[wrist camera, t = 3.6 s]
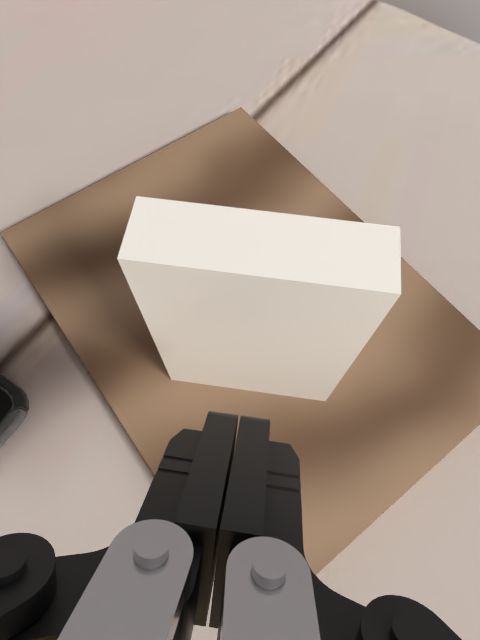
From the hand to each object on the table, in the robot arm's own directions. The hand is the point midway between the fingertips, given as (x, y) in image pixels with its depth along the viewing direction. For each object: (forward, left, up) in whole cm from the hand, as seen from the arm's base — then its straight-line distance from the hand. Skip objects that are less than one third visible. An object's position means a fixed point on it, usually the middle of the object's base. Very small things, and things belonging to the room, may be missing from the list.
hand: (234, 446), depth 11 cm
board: (-6, +5, -9) cm, 13 cm away
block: (-3, +3, -8) cm, 10 cm away
